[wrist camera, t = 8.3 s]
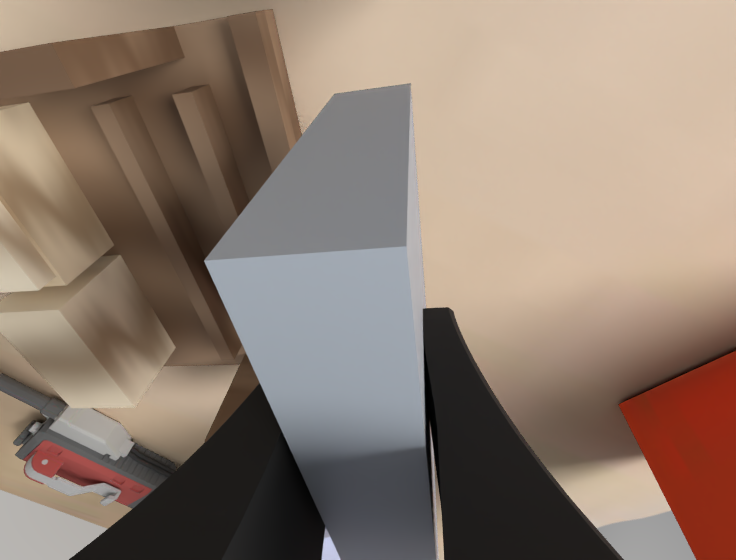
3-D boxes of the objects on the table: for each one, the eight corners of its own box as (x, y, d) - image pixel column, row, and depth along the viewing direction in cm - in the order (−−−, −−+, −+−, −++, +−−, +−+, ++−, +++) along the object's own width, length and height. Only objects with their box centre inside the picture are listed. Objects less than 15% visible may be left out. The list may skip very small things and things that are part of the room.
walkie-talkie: (204, 460, 36) (-26, 337, 28) (181, 511, 32) (-89, 386, 25) (158, 486, 40) (-54, 384, 32) (134, 533, 36) (-111, 431, 29)
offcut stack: (175, 347, 25) (135, 407, 21) (119, 349, 25) (71, 408, 22) (28, 102, 16) (-81, 133, 13) (-49, 114, 17) (-174, 146, 13)
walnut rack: (351, 349, 25) (333, 453, 19) (128, 356, 27) (54, 450, 22) (272, 9, 14) (183, 19, 9) (-76, 70, 17) (-318, 108, 11)
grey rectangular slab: (429, 355, 16) (440, 604, 9) (380, 356, 16) (358, 598, 10) (410, 83, 10) (406, 245, 4) (334, 93, 10) (204, 260, 4)
